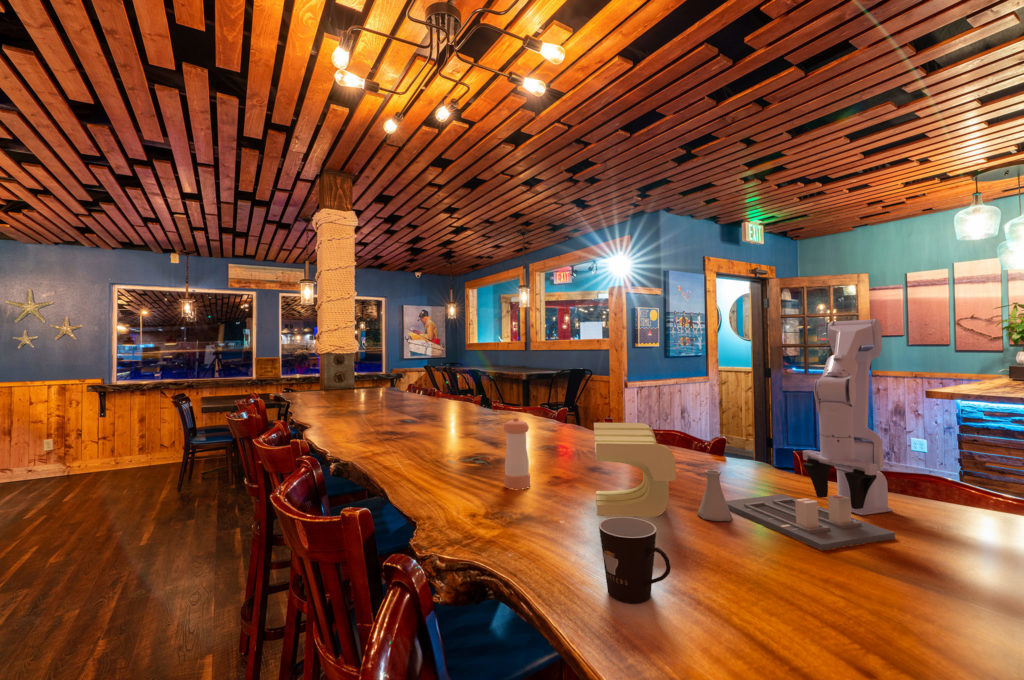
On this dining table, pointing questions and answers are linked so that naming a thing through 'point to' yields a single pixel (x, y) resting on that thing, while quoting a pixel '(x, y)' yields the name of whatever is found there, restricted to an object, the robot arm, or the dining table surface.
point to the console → (828, 535)
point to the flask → (714, 500)
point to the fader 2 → (839, 509)
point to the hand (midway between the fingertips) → (839, 502)
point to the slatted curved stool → (643, 452)
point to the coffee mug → (630, 558)
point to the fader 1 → (806, 513)
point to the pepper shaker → (516, 455)
